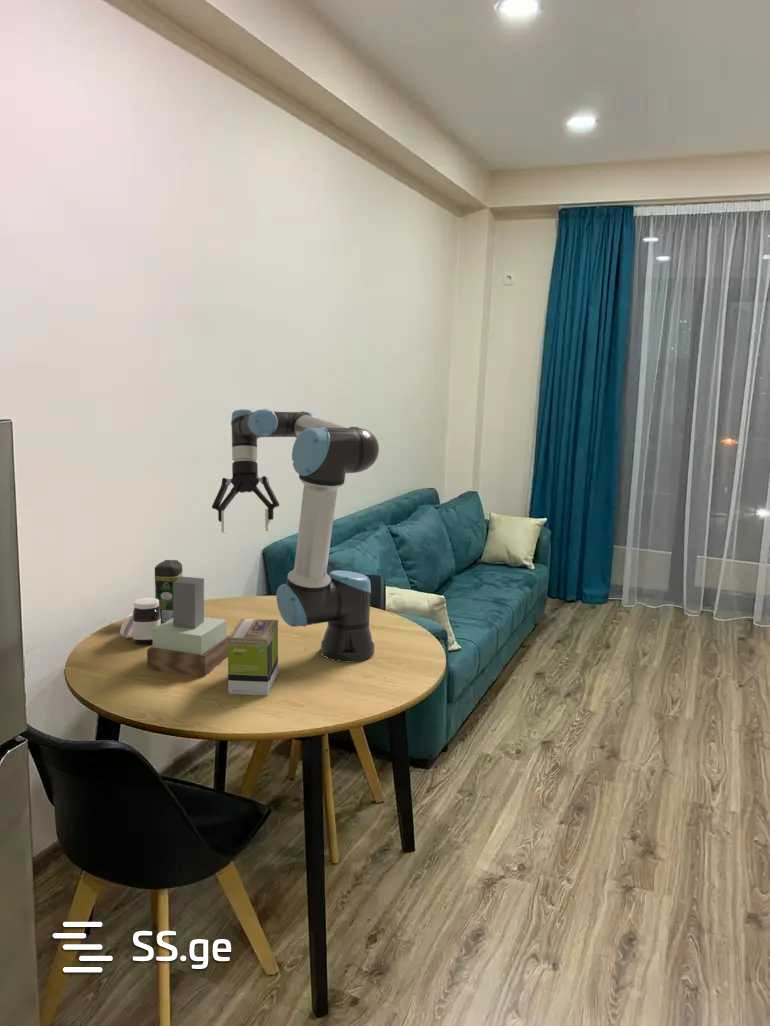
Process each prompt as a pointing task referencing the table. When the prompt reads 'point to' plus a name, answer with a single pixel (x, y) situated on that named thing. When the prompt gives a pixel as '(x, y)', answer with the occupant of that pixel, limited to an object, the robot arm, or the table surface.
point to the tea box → (253, 657)
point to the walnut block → (187, 660)
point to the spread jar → (142, 620)
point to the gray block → (188, 602)
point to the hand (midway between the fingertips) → (246, 531)
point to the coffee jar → (166, 586)
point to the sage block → (190, 636)
